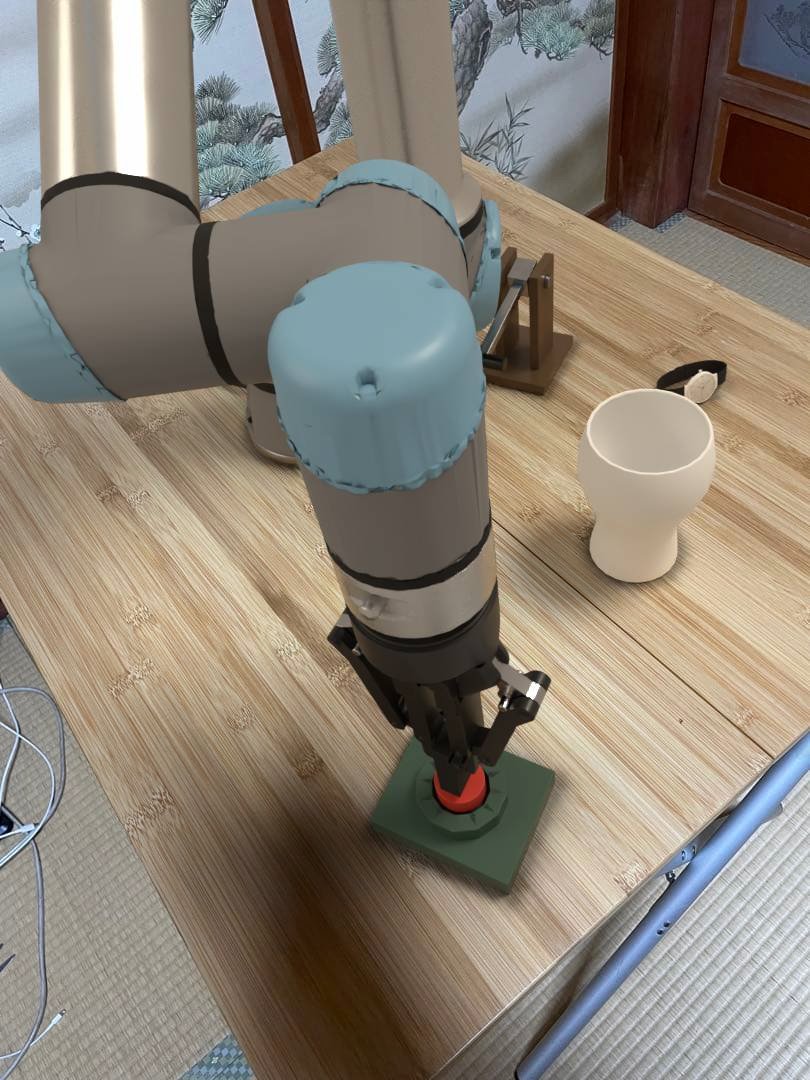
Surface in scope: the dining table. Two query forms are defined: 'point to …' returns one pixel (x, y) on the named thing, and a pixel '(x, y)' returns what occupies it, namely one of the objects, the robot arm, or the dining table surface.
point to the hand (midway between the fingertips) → (458, 776)
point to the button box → (467, 816)
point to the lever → (506, 312)
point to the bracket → (530, 332)
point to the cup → (643, 478)
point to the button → (464, 793)
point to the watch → (696, 379)
